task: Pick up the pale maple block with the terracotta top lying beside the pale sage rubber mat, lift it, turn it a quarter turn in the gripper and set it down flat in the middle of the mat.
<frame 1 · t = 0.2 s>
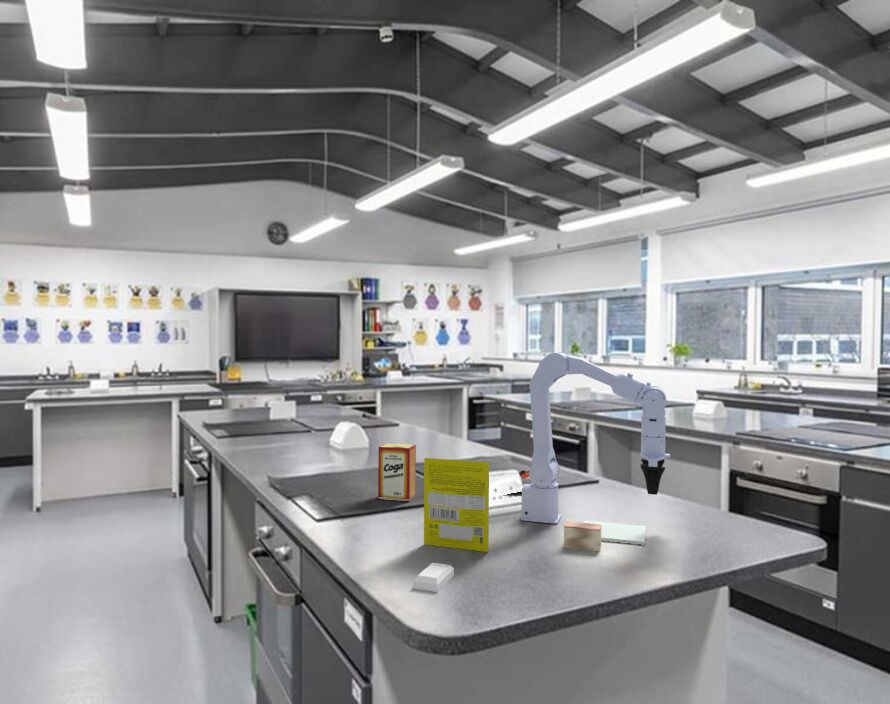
hand: (652, 490, 155), 10 cm above the countertop, tool pointing down, fingers open, 7 cm apart
food package: (455, 549, 141), on the countertop
food plate: (516, 487, 203), on the countertop
baking soda box: (397, 499, 186), on the countertop
soap bar: (434, 584, 121), on the countertop
maple block: (582, 547, 143), on the countertop
mat: (613, 533, 152), on the countertop
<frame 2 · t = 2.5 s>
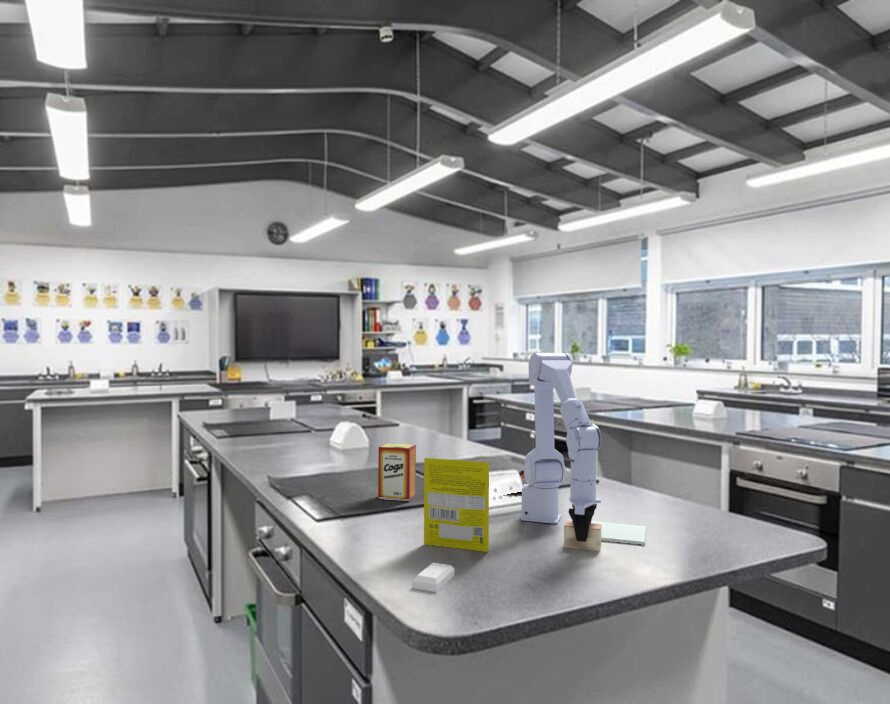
hand: (582, 538, 143), 2 cm above the countertop, tool pointing down, fingers closed on maple block, 4 cm apart
maple block: (582, 546, 143), on the countertop, touching gripper
everything else where it was.
when the fingers open (4 cm above the countertop, at t = 8.8 s): maple block drops 1 cm, resting on mat.
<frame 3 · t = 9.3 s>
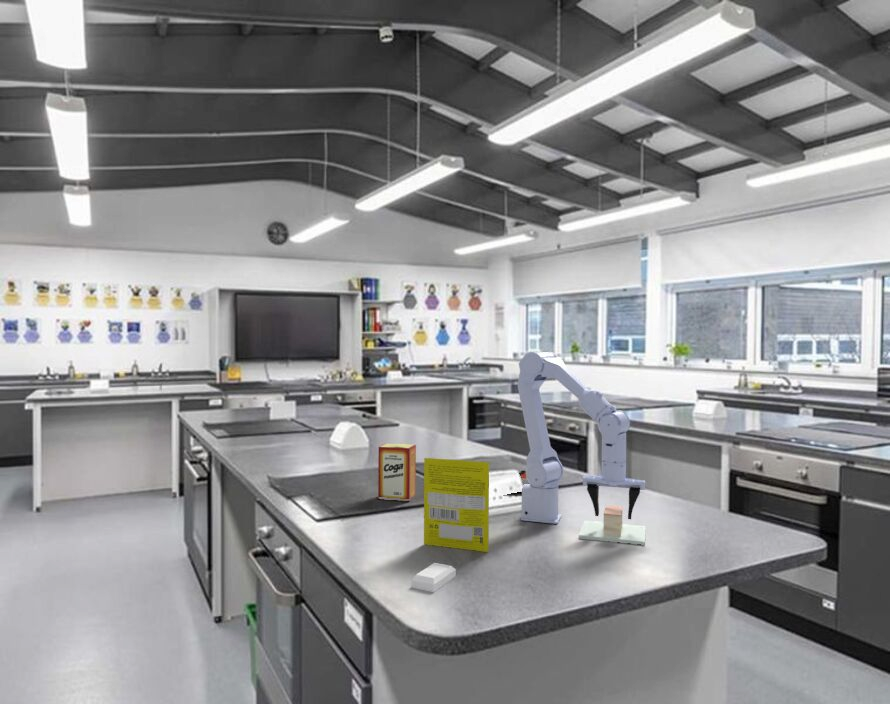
hand: (613, 516, 152), 4 cm above the countertop, tool pointing down, fingers open, 7 cm apart
maple block: (613, 530, 152), point 1 cm above the countertop, touching mat
everything else where it was.
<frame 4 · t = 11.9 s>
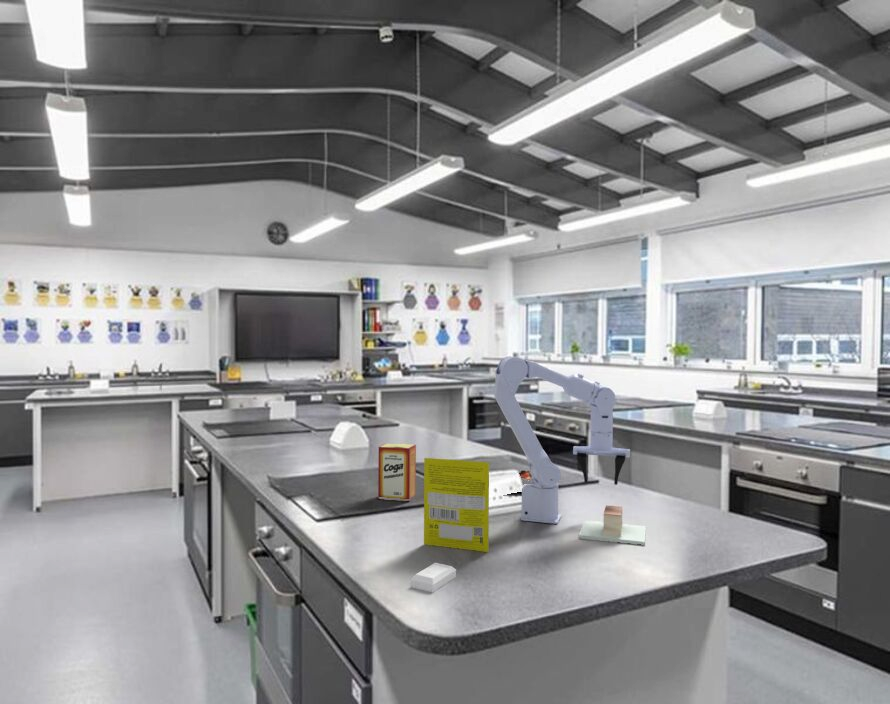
hand: (600, 482, 166), 9 cm above the countertop, tool pointing down, fingers open, 7 cm apart
nothing on the countertop moved.
at the end: maple block inside the target area on the mat (0.0 cm from its centre), point 0.8 cm above the mat's base; maple block tilted 0°; the gripper is holding nothing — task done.
